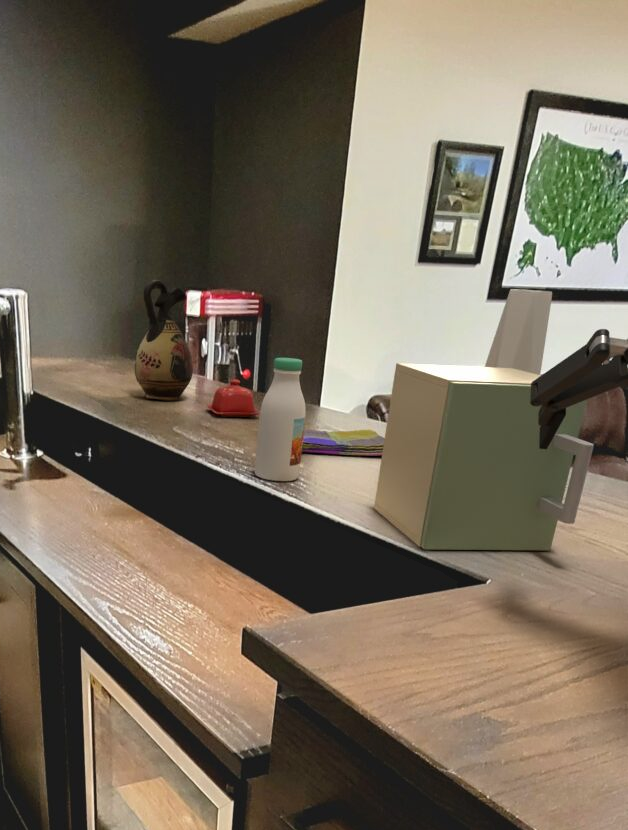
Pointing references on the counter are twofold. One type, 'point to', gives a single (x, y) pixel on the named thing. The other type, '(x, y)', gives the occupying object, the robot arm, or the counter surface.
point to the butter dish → (233, 401)
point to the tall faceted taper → (521, 331)
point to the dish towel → (343, 442)
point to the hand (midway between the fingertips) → (611, 446)
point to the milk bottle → (281, 424)
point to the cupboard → (422, 436)
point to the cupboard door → (502, 472)
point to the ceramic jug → (163, 348)
